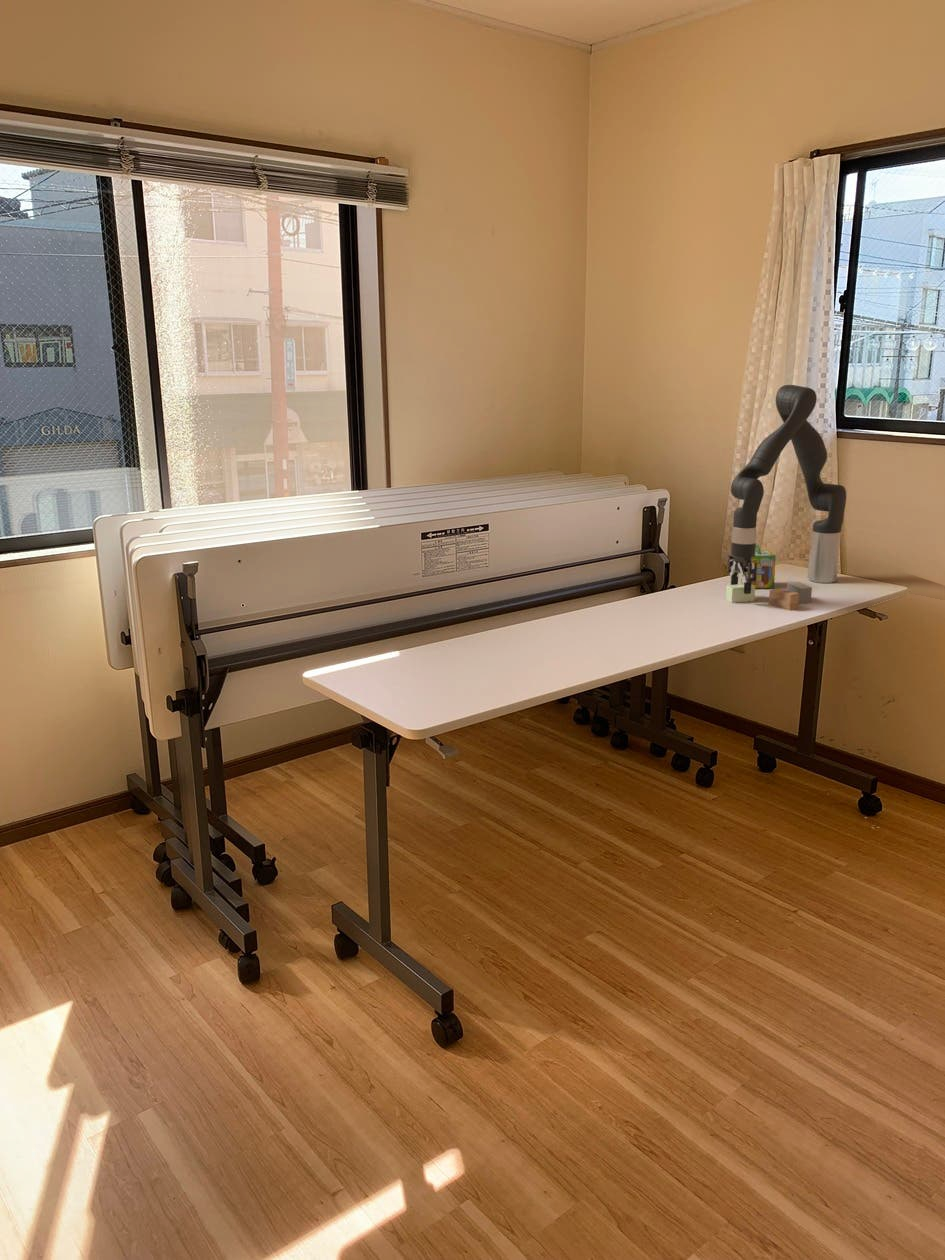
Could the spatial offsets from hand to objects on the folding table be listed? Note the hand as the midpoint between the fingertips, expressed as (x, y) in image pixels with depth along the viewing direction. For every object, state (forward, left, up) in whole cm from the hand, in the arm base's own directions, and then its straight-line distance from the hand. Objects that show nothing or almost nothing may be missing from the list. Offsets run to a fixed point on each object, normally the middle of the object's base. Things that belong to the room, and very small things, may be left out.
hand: (740, 590), depth 315 cm
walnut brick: (+11, +9, -4) cm, 15 cm away
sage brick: (0, 0, -4) cm, 4 cm away
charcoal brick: (+5, +18, -4) cm, 19 cm away
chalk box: (-16, +15, -4) cm, 23 cm away
